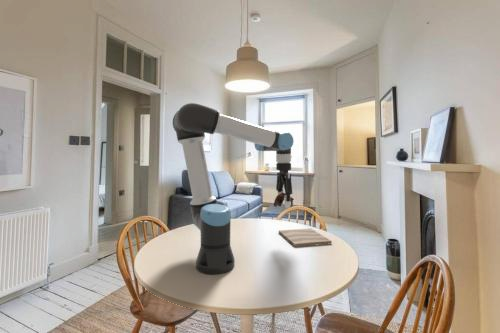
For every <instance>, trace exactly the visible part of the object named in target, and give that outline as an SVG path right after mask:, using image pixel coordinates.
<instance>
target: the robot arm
mask: <svg viewBox="0 0 500 333" xmlns="http://www.w3.org/2000/svg"><path fill="white" fill-rule="evenodd" d="M220 112H221V111H220V110H218V109H214V108H212V107H209V106H205V105H202V104H199V103H191V102H190V103H186V104H184V105H182V106H181V107H180V108H179V110H177V111H176V112H175V114H174V116H173V117H172V128H173V129H174V131H175V133H176V139H177V143H179V144H181V145H182V149H183V150H182V151H183V156H184V160H185V166H186V171H187V177H188V181H189V187H190V191H191V196H192V199H191V200H190V202H189V205H190V210H191V211H190V219H191V222H192V223H193V224H194V226H195V227H197V229H198V230H199V231H200V247H199V250H198V254H197V257H196V259H195V260H196V261H195V268H196V270H197V271H198V272H200V273H202V274H207V275H219V274H223V273H226V272H230V271H231V270H232V269H233V268H234V267H235V264H236V263H235V256H234V253H233V250H232V246H231V221H232V220H231V219H232V215H231V210H230V208H229V207H228V206H226V205H225V204H220V203H218V200H217V197H216V196H215V195H213V193H212V192H213V191H212V186H211V182H210V177H209V176H210V175H209V171H208V166H207V160H206V154H205V150H204V143H203V141H204V140H205V138H206V136H205V133H206V134H210V135H214V134H218V135H219V134H220V135H222V136H225V137H230V138H233V139H237V140H242V141H246V142H249V143H252V144H253V145H254V148H255V150H256V151H259V152H275V153H276V154H275V155H276V156H275V158H276V160H275V161H276V167H275V168H276V171H279V172H277V173H276V188H275V189H276V190H275V191H277V195H279V194H281V193H282V192H283V193H285V194H284V195H285V198H284V202H283V203H282V205H283V204H284V208H285V209H289V208H291V206H290V205H291V202H290V197H291V195H292V194H293V187H292V186H293V184H292V174H291V173H289V171H291V170H292V163H291V162H292V148H293V145H294V136H293V135H292V134H291V133H290V132H287V131H281V132H279V131H276V130H273V129H269V128H266V127H262V126H259V125H257V124H256V125H255V124H253V123H250V122H248V121H244V120H240V119H237V118H234V117H231V116H228V115H225V114H222V113H220Z"/></svg>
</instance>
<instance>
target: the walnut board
mask: <svg viewBox="0 0 500 333" xmlns="http://www.w3.org/2000/svg"><path fill="white" fill-rule="evenodd" d="M278 234H279V235H280V236H282V238H284V240H286V241H287V242H288V243H289V244H291V245H292V246H293V247H294V248H297V247H300V248H301V247H309V246H308V245H312V246H317V245H316V244H324V245H328V244H327V243H331V244H332V240H330V239H329V238H328V237H326V236H324V235H322V234H320V232H317V231H316V230H314V229H312V228H298V229H297V228H296V229H283V230H282V229H281V230H280V229H279V230H278Z"/></svg>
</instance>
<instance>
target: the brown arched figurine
mask: <svg viewBox="0 0 500 333" xmlns="http://www.w3.org/2000/svg"><path fill="white" fill-rule="evenodd" d="M284 194H285V192H284V191H283V192H282V193H281V194H279V195H278V194H277V195H276V197H275V199H274V201H273V206H274V207H275V208H277V207H282V205H283V204H284V202H285V195H284ZM282 203H283V204H282ZM293 204H294V198H293V197H292V196H290V208H292V207H293Z"/></svg>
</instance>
